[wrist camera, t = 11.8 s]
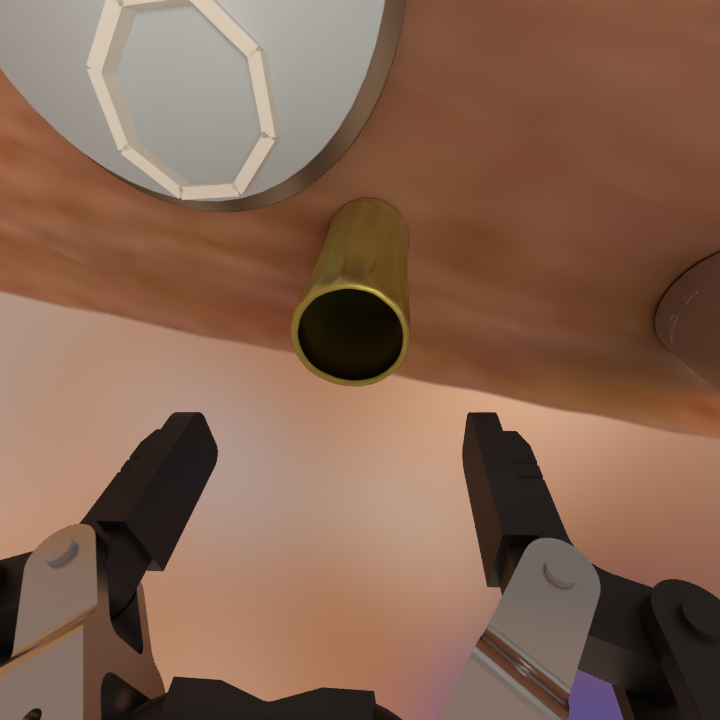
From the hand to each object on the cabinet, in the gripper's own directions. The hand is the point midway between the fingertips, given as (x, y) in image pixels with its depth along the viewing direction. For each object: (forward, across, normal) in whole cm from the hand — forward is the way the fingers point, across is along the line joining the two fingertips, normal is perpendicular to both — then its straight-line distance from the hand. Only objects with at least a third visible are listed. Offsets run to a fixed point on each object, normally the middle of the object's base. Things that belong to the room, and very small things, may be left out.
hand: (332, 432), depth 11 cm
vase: (+20, 0, 0) cm, 20 cm away
